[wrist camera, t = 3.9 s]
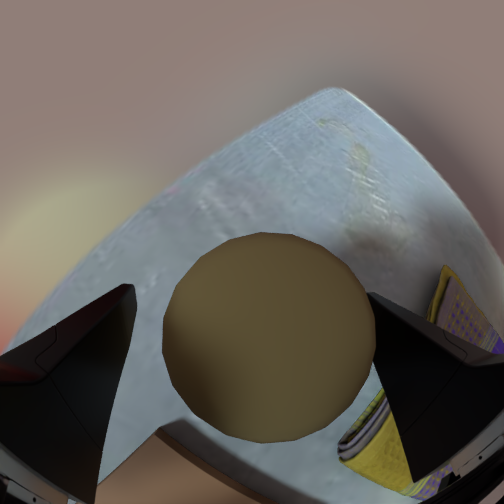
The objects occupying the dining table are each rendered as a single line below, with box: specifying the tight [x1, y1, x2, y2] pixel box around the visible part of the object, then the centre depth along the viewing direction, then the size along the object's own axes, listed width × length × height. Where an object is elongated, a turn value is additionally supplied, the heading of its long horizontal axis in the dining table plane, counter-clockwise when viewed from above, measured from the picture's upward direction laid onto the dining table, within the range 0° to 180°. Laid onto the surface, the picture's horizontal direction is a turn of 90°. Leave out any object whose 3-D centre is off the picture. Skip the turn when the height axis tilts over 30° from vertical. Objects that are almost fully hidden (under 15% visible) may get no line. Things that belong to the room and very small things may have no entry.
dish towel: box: [337, 265, 504, 501], centre depth 14 cm, size 18×24×3 cm
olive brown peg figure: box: [162, 232, 376, 443], centre depth 10 cm, size 6×6×11 cm
